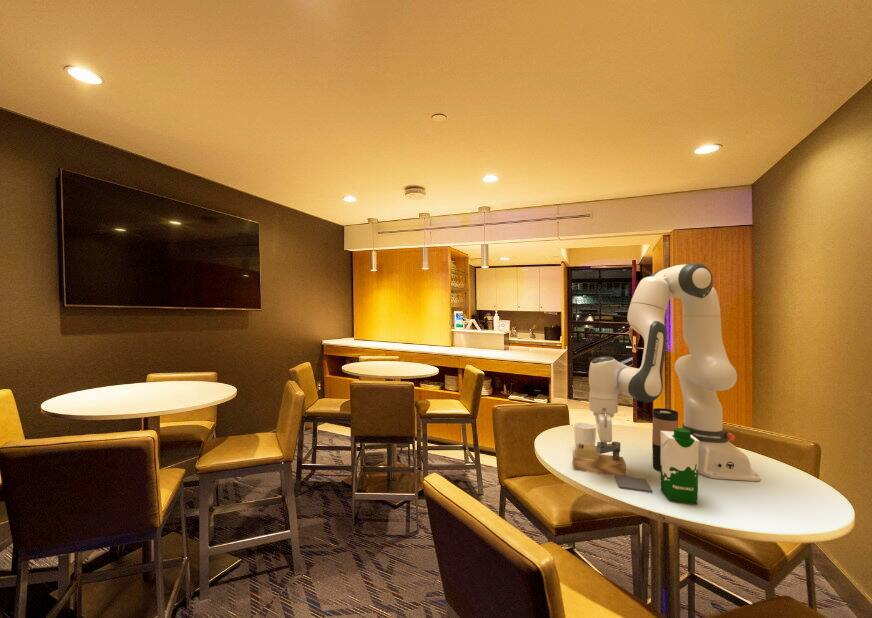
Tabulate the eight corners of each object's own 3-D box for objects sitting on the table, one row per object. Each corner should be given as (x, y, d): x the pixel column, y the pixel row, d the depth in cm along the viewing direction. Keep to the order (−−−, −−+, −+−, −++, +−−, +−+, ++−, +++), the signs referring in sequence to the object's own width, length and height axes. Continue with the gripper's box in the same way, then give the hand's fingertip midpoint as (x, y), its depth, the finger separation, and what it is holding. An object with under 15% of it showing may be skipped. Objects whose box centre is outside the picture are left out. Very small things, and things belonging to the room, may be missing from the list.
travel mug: (676, 467, 132) (676, 409, 133) (679, 475, 125) (680, 414, 126) (650, 463, 136) (651, 407, 136) (653, 471, 129) (653, 411, 129)
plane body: (622, 468, 130) (622, 448, 131) (625, 476, 124) (626, 455, 124) (572, 462, 135) (572, 443, 135) (573, 469, 128) (574, 449, 129)
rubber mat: (645, 480, 121) (645, 478, 121) (652, 492, 113) (652, 490, 113) (614, 476, 124) (614, 474, 124) (619, 488, 115) (619, 486, 115)
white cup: (599, 455, 143) (599, 428, 143) (577, 454, 143) (578, 428, 143) (591, 448, 150) (591, 422, 151) (570, 447, 151) (571, 422, 151)
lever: (615, 448, 130) (615, 438, 130) (622, 451, 127) (622, 440, 127) (595, 452, 125) (595, 442, 125) (601, 455, 123) (601, 444, 123)
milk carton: (667, 502, 107) (668, 431, 107) (656, 488, 116) (657, 422, 116) (702, 507, 105) (703, 434, 105) (688, 492, 114) (689, 424, 114)
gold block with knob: (597, 454, 132) (597, 443, 132) (599, 459, 127) (599, 448, 127) (576, 452, 134) (576, 441, 134) (576, 457, 129) (577, 445, 129)
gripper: (616, 414, 117) (617, 459, 117) (610, 399, 136) (611, 438, 136) (594, 412, 119) (595, 456, 119) (591, 398, 138) (592, 436, 138)
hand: (603, 446), depth 128 cm, fingers closed, pressing on lever
